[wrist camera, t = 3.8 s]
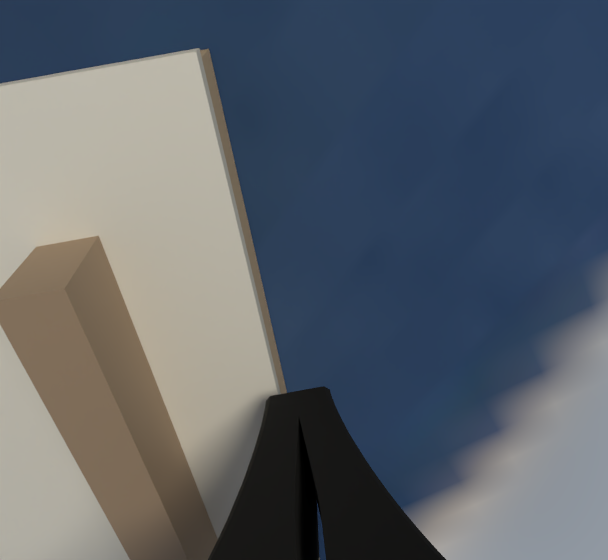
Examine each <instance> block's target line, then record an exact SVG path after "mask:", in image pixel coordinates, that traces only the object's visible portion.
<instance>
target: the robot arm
mask: <svg viewBox="0 0 608 560" xmlns="http://www.w3.org/2000/svg"><path fill="white" fill-rule="evenodd" d="M317 503H318V507H319V512H320V516H321V520H322V527H323V535H324V544H325V552H326V560H446V559H445V558H444V557H443V556H442V555H441V554H440V553H439V552H438V551H437V549H436V548H435V547H434V546H433V545H432V544H431V543H430V542H429V541H428V539H427V538H426V537H425V536H424V535H423V534H422V533H421V532H420V530H419V529H418V528H417V527H416V526H415V525H414V523H413V522H412V521H411V520H410V519H409V517H408V516H407V515H406V514H405V513H404V511H403V510H402V509H401V508H400V506H399V505H398V504H397V503H396V501H395V500H394V499H393V497H392V496H391V495H390V494H389V492H388V491H387V490H386V488H385V487H384V485H383V484H382V483H381V481H380V480H379V479H378V477H377V476H376V474H375V473H374V472H373V470H372V469H371V467H370V466H369V464H368V463H367V461H366V460H365V458H364V457H363V455H362V453H361V452H360V450H359V449H358V447H357V445H356V444H355V442H354V441H353V439H352V437H351V436H350V434H349V432H348V430H347V429H346V427H345V425H344V423H343V421H342V419H341V417H340V415H339V413H338V411H337V409H336V406H335V404H334V402H333V399H332V396H331V393H330V390H329V389H328V388H326V387H318V388H312V389H307V390H301V391H295V392H290V393H284V394H278V395H273V396H270V397H269V398H268V399H267V400H266V404H265V410H264V415H263V419H262V424H261V427H260V431H259V435H258V438H257V441H256V445H255V448H254V451H253V454H252V457H251V460H250V463H249V466H248V469H247V471H246V474H245V477H244V480H243V482H242V485H241V487H240V490H239V492H238V495H237V497H236V500H235V502H234V504H233V507H232V509H231V512H230V514H229V516H228V519H227V521H226V523H225V525H224V527H223V530H222V532H221V534H220V536H219V538H218V540H217V542H216V544H215V546H214V548H213V550H212V552H211V554H210V556H209V558H208V560H319V541H318V518H317Z"/></svg>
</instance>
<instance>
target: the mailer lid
mask: <svg viewBox="0 0 608 560" xmlns="http://www.w3.org/2000/svg"><path fill="white" fill-rule="evenodd" d="M278 394H281V392H280V388H279V384H278V380H277V375H276V371H275V367H274V363H273V358H272V354H271V350H270V346H269V341H268V337H267V333H266V329H265V324H264V320H263V316H262V312H261V307H260V303H259V299H258V295H257V290H256V286H255V282H254V278H253V273H252V269H251V265H250V261H249V256H248V252H247V248H246V244H245V239H244V235H243V231H242V227H241V223H240V218H239V214H238V210H237V206H236V201H235V197H234V193H233V189H232V184H231V180H230V176H229V172H228V167H227V163H226V159H225V155H224V150H223V146H222V142H221V138H220V133H219V129H218V125H217V121H216V116H215V112H214V108H213V104H212V99H211V95H210V91H209V87H208V82H207V78H206V74H205V70H204V65H203V61H202V57H201V53H200V48H197V49H191V50H186V51H180V52H175V53H169V54H163V55H158V56H152V57H147V58H141V59H135V60H130V61H124V62H119V63H113V64H107V65H102V66H96V67H91V68H85V69H79V70H74V71H68V72H63V73H57V74H52V75H46V76H40V77H35V78H29V79H24V80H18V81H12V82H7V83H1V84H0V560H208V558H209V556H210V554H211V552H212V550H213V548H214V546H215V544H216V542H217V540H218V538H219V536H220V534H221V532H222V530H223V527H224V525H225V523H226V521H227V519H228V516H229V514H230V512H231V509H232V507H233V504H234V502H235V500H236V497H237V495H238V492H239V490H240V487H241V485H242V482H243V480H244V477H245V474H246V471H247V469H248V466H249V463H250V460H251V457H252V454H253V451H254V448H255V445H256V441H257V438H258V435H259V431H260V427H261V424H262V419H263V415H264V410H265V404H266V400H267V399H268V398H269V397H270V396H273V395H278ZM319 560H320V558H319Z"/></svg>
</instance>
